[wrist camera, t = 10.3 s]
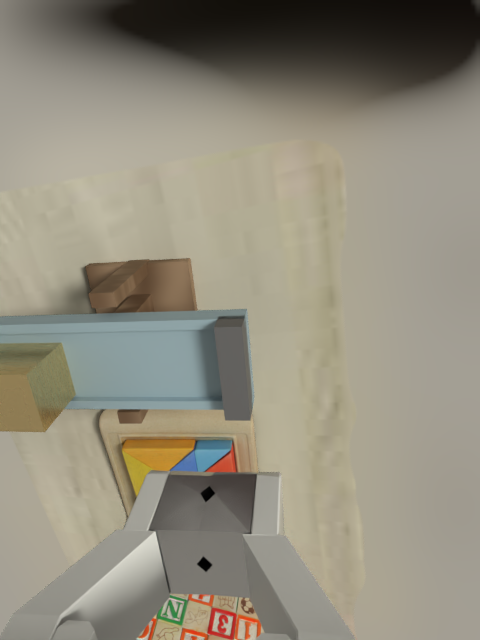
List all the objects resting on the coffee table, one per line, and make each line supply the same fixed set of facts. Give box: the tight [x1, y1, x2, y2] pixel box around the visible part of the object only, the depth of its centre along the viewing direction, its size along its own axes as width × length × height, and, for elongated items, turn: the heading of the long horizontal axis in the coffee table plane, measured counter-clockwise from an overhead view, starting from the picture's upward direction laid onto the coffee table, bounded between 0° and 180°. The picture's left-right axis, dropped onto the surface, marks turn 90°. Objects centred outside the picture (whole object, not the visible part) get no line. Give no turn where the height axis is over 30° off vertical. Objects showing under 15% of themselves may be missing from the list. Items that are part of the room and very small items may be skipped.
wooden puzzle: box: [99, 409, 258, 517], centre depth 50 cm, size 18×19×4 cm
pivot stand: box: [86, 258, 197, 424], centre depth 39 cm, size 10×12×9 cm
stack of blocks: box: [136, 594, 265, 640], centre depth 53 cm, size 21×6×12 cm, turn 76°
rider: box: [0, 343, 76, 432], centre depth 34 cm, size 6×5×5 cm
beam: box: [0, 309, 254, 421], centre depth 35 cm, size 22×8×3 cm, turn 95°
